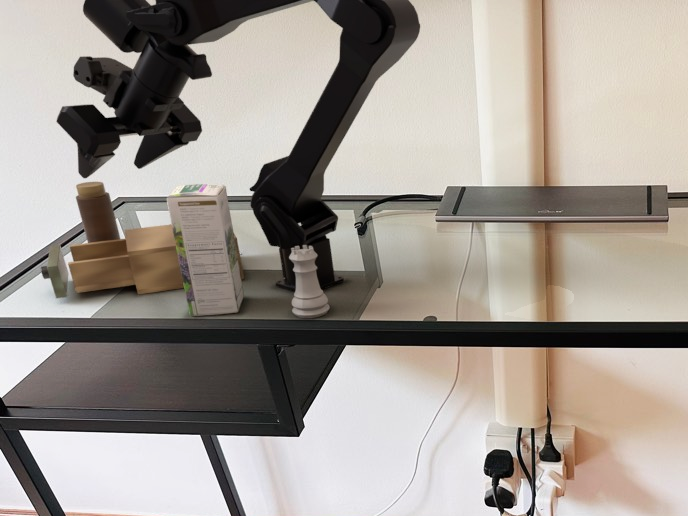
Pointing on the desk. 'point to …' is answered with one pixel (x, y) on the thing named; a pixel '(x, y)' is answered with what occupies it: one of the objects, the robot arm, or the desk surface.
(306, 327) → the desk surface
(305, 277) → the rook chess piece
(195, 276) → the syrup box
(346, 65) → the robot arm
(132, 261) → the drawer unit
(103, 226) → the pepper mill
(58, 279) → the drawer
